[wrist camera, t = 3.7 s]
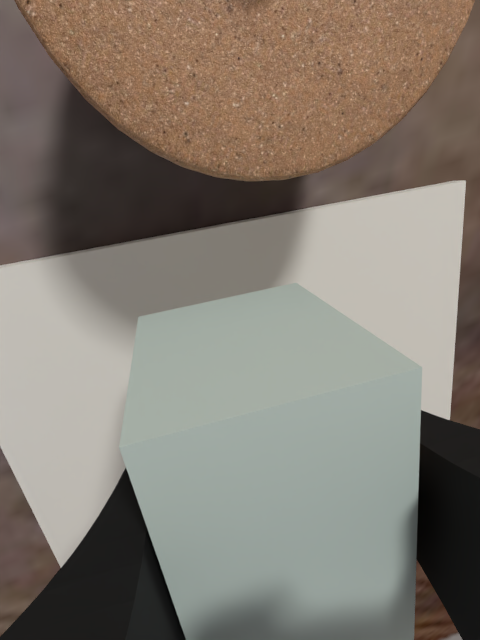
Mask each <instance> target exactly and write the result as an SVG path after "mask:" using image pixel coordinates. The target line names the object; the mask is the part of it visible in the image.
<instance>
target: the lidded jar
mask: <svg viewBox="0 0 480 640" xmlns="http://www.w3.org/2000/svg"><path fill="white" fill-rule="evenodd" d="M474 1H475V0H15V2H16V4H17V6H18V8H19V10H20V11H21V13H22V14H23V16H24V18H25V19H26V21H27V22H28V24H29V25H30V27H31V28H32V30H33V32H34V33H35V35H36V36H37V38H38V39H39V41H40V42H41V44H42V45H43V47H44V49H45V50H46V52H47V53H48V55H49V56H50V57H51V59H52V60H53V61H54V63H55V64H56V65H57V66H58V67H59V68H60V70H61V71H62V72H63V73H64V74H65V76H66V77H67V78H68V79H69V80H70V82H71V83H72V84H73V85H74V86H75V88H76V89H77V90H78V91H79V92H80V94H81V95H82V96H83V97H84V98H85V99H86V100H87V101H88V102H89V103H90V104H91V105H92V106H93V107H94V108H95V109H96V110H98V111H99V112H100V113H101V114H102V115H103V116H104V117H105V118H106V119H107V120H108V121H110V122H111V123H112V124H113V125H114V126H115V127H116V128H117V129H118V130H120V131H121V132H123V133H124V134H126V135H127V136H129V137H130V138H131V139H133V140H134V141H136V142H137V143H139V144H140V145H142V146H143V147H145V148H146V149H147V150H149V151H150V152H152V153H154V154H156V155H158V156H160V157H162V158H165V159H167V160H169V161H171V162H173V163H175V164H177V165H179V166H181V167H183V168H187V169H190V170H193V171H197V172H200V173H203V174H206V175H210V176H213V177H217V178H225V179H233V180H241V181H269V180H285V179H290V178H294V177H299V176H303V175H308V174H312V173H317V172H319V171H322V170H324V169H327V168H329V167H332V166H334V165H336V164H339V163H341V162H344V161H346V160H348V159H350V158H351V157H353V156H355V155H356V154H358V153H359V152H361V151H363V150H364V149H366V148H367V147H369V146H371V145H372V144H374V143H376V142H377V141H378V140H379V139H380V138H381V137H383V136H384V135H385V134H386V133H387V132H388V131H390V130H391V129H392V128H393V127H394V126H395V125H397V124H398V123H399V122H400V121H401V120H402V119H403V118H404V117H405V116H406V115H407V113H408V112H409V111H410V110H411V109H412V108H413V107H414V106H415V104H416V103H417V102H418V101H419V100H420V99H421V98H422V96H423V95H424V94H425V93H426V92H427V90H428V89H429V87H430V86H431V84H432V83H433V81H434V80H435V78H436V77H437V75H438V74H439V72H440V71H441V69H442V68H443V66H444V65H445V63H446V62H447V60H448V58H449V56H450V54H451V52H452V50H453V48H454V46H455V44H456V42H457V40H458V38H459V36H460V34H461V32H462V30H463V29H464V27H465V25H466V22H467V20H468V17H469V14H470V12H471V9H472V6H473V4H474Z"/></svg>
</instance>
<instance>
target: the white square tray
mask: <svg viewBox="0 0 480 640" xmlns="http://www.w3.org/2000/svg"><path fill="white" fill-rule="evenodd" d="M465 188H466V181H450V182H445V183H440V184H434V185H429V186H424V187H418V188H413V189H407V190H402V191H397V192H391V193H386V194H381V195H375V196H370V197H365V198H359V199H354V200H349V201H343V202H338V203H332V204H327V205H322V206H316V207H311V208H306V209H300V210H295V211H290V212H284V213H279V214H274V215H268V216H263V217H258V218H252V219H247V220H241V221H236V222H231V223H225V224H220V225H215V226H209V227H204V228H199V229H193V230H188V231H183V232H177V233H172V234H166V235H161V236H156V237H150V238H145V239H140V240H134V241H129V242H124V243H118V244H113V245H108V246H102V247H97V248H91V249H86V250H81V251H75V252H70V253H65V254H59V255H54V256H49V257H43V258H38V259H33V260H27V261H22V262H17V263H11V264H6V265H0V447H1V449H2V451H3V453H4V455H5V457H6V459H7V461H8V463H9V465H10V467H11V469H12V471H13V473H14V475H15V477H16V479H17V481H18V483H19V485H20V487H21V489H22V491H23V493H24V495H25V497H26V499H27V501H28V503H29V505H30V507H31V509H32V511H33V513H34V515H35V517H36V519H37V521H38V523H39V525H40V527H41V529H42V531H43V533H44V535H45V537H46V539H47V541H48V543H49V545H50V547H51V549H52V551H53V553H54V555H55V557H56V559H57V561H58V563H59V565H60V567H62V566H63V565H64V564H65V562H66V561H67V560H68V559H69V557H70V556H71V555H72V553H73V552H74V551H75V549H76V548H77V547H78V545H79V544H80V542H81V541H82V540H83V538H84V537H85V535H86V534H87V532H88V531H89V529H90V528H91V526H92V525H93V523H94V522H95V520H96V519H97V517H98V516H99V514H100V512H101V511H102V509H103V507H104V506H105V504H106V502H107V501H108V499H109V497H110V496H111V494H112V492H113V490H114V489H115V487H116V485H117V483H118V481H119V479H120V477H121V475H122V473H123V472H124V470H125V468H126V466H125V463H124V460H123V457H122V454H121V452H120V449H119V444H120V438H121V431H122V424H123V417H124V411H125V404H126V397H127V390H128V384H129V377H130V370H131V363H132V356H133V350H134V343H135V336H136V329H137V323H138V317H140V316H144V315H149V314H154V313H158V312H163V311H167V310H172V309H177V308H181V307H186V306H190V305H195V304H200V303H204V302H209V301H214V300H218V299H223V298H227V297H232V296H237V295H241V294H246V293H251V292H255V291H260V290H264V289H269V288H274V287H278V286H283V285H288V284H292V283H298V284H299V285H300V286H302V287H303V288H305V289H306V290H308V291H309V292H311V293H312V294H314V295H315V296H317V297H318V298H320V299H321V300H323V301H324V302H326V303H327V304H329V305H330V306H332V307H333V308H335V309H336V310H338V311H339V312H341V313H342V314H344V315H345V316H347V317H348V318H350V319H351V320H353V321H354V322H356V323H357V324H359V325H360V326H362V327H363V328H365V329H366V330H368V331H369V332H371V333H372V334H374V335H375V336H377V337H378V338H379V339H381V340H382V341H384V342H385V343H387V344H388V345H390V346H391V347H393V348H394V349H396V350H397V351H399V352H400V353H402V354H403V355H405V356H406V357H408V358H409V359H411V360H412V361H414V362H415V363H417V364H418V365H420V366H421V367H422V392H421V410H423V411H425V412H428V413H431V414H433V415H436V416H439V417H441V418H444V419H447V420H450V409H451V395H452V380H453V365H454V350H455V336H456V321H457V306H458V291H459V276H460V262H461V247H462V232H463V217H464V203H465Z"/></svg>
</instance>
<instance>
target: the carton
mask: <svg viewBox="0 0 480 640" xmlns="http://www.w3.org/2000/svg"><path fill="white" fill-rule="evenodd" d="M421 392H422V367H421V366H420V365H418V364H417V363H415V362H414V361H412V360H411V359H409V358H408V357H406V356H405V355H403V354H402V353H400V352H399V351H397V350H396V349H394V348H393V347H391V346H390V345H388V344H387V343H385V342H384V341H382V340H381V339H379V338H378V337H377V336H375V335H374V334H372V333H371V332H369V331H368V330H366V329H365V328H363V327H362V326H360V325H359V324H357V323H356V322H354V321H353V320H351V319H350V318H348V317H347V316H345V315H344V314H342V313H341V312H339V311H338V310H336V309H335V308H333V307H332V306H330V305H329V304H327V303H326V302H324V301H323V300H321V299H320V298H318V297H317V296H315V295H314V294H312V293H311V292H309V291H308V290H306V289H305V288H303V287H302V286H300V285H299V284H298V283H292V284H288V285H283V286H278V287H274V288H269V289H264V290H260V291H255V292H251V293H246V294H241V295H237V296H232V297H227V298H223V299H218V300H214V301H209V302H204V303H200V304H195V305H190V306H186V307H181V308H177V309H172V310H167V311H163V312H158V313H154V314H149V315H144V316H140V317H138V323H137V329H136V336H135V343H134V350H133V356H132V363H131V370H130V377H129V384H128V390H127V397H126V404H125V411H124V417H123V424H122V431H121V438H120V444H119V449H120V452H121V454H122V457H123V460H124V463H125V466H126V469H127V472H128V474H129V477H130V480H131V483H132V486H133V489H134V492H135V495H136V497H137V500H138V503H139V506H140V509H141V512H142V515H143V518H144V520H145V523H146V526H147V529H148V532H149V535H150V538H151V541H152V543H153V546H154V549H155V552H156V555H157V558H158V561H159V564H160V566H161V569H162V572H163V575H164V578H165V581H166V584H167V587H168V589H169V592H170V595H171V598H172V601H173V604H174V607H175V610H176V612H177V615H178V618H179V621H180V624H181V627H182V630H183V633H184V635H185V638H186V640H414V619H415V587H416V554H417V522H418V489H419V457H420V424H421Z"/></svg>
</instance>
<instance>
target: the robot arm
mask: <svg viewBox="0 0 480 640" xmlns="http://www.w3.org/2000/svg"><path fill="white" fill-rule="evenodd" d="M416 559H417V560H418V562H419V564H420V565H421V567H422V569H423V570H424V572H425V574H426V576H427V577H428V579H429V581H430V582H431V584H432V586H433V588H434V589H435V591H436V593H437V595H438V596H439V598H440V600H441V601H442V603H443V605H444V607H445V608H446V610H447V612H448V614H449V616H450V618H451V619H452V621H453V623H454V625H455V627H456V628H457V630H458V632H459V634H460V636H461V637H462V639H463V640H480V429H476V428H473V427H470V426H466V425H463V424H460V423H456V422H453V421H450V420H447V419H444V418H441V417H439V416H436V415H433V414H431V413H428V412H425V411H423V410H421V424H420V457H419V489H418V522H417V554H416ZM0 640H186V638H185V635H184V633H183V630H182V627H181V624H180V621H179V618H178V615H177V612H176V610H175V607H174V604H173V601H172V598H171V595H170V592H169V589H168V587H167V584H166V581H165V578H164V575H163V572H162V569H161V566H160V564H159V561H158V558H157V555H156V552H155V549H154V546H153V543H152V541H151V538H150V535H149V532H148V529H147V526H146V523H145V520H144V518H143V515H142V512H141V509H140V506H139V503H138V500H137V497H136V495H135V492H134V489H133V486H132V483H131V480H130V477H129V474H128V472H127V469H126V468H125V470H124V472H123V473H122V475H121V477H120V479H119V481H118V483H117V485H116V487H115V489H114V490H113V492H112V494H111V496H110V497H109V499H108V501H107V502H106V504H105V506H104V507H103V509H102V511H101V512H100V514H99V516H98V517H97V519H96V520H95V522H94V523H93V525H92V526H91V528H90V529H89V531H88V532H87V534H86V535H85V537H84V538H83V540H82V541H81V542H80V544H79V545H78V547H77V548H76V549H75V551H74V552H73V553H72V555H71V556H70V557H69V559H68V560H67V561H66V562H65V564H64V565H63V566H62V567H61V569H60V570H59V571H58V572H57V574H56V575H55V576H54V577H53V579H52V580H51V581H50V582H49V584H48V585H47V586H46V587H45V588H44V590H43V591H42V592H41V593H40V594H39V595H38V596H37V598H36V599H35V600H34V601H33V602H32V603H31V604H30V605H29V607H28V608H27V609H26V610H25V611H24V612H23V613H22V614H21V615H20V616H19V618H18V619H17V620H16V621H15V622H14V623H13V624H12V625H11V626H10V627H9V628H8V629H7V630H6V631H5V632H4V634H3V635H2V636H1V637H0Z"/></svg>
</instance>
